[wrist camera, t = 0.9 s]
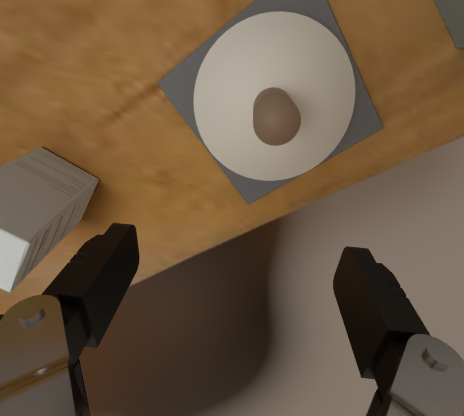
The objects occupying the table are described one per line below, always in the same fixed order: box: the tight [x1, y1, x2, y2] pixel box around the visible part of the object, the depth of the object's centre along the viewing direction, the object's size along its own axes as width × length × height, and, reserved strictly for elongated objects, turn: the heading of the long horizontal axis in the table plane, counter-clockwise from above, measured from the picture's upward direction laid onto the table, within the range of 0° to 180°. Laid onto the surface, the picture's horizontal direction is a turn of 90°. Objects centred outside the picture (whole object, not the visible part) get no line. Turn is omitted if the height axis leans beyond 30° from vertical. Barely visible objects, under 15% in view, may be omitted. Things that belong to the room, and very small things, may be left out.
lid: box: [193, 11, 355, 181], centre depth 24 cm, size 15×15×7 cm
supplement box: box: [0, 147, 99, 292], centre depth 29 cm, size 7×7×13 cm
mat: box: [158, 0, 383, 204], centre depth 28 cm, size 16×16×1 cm
